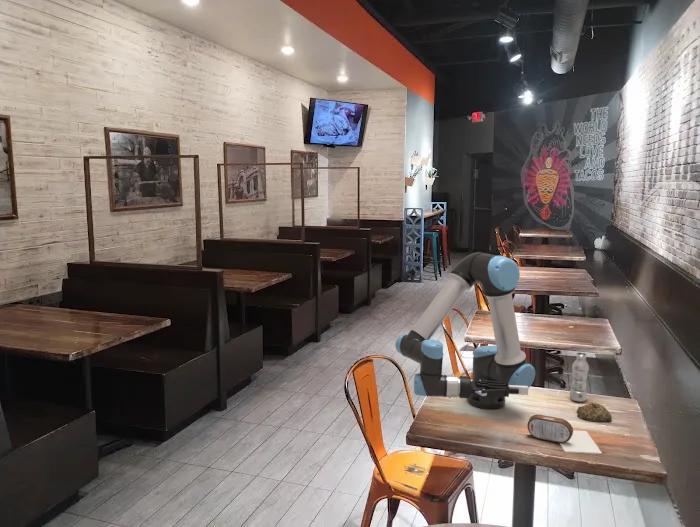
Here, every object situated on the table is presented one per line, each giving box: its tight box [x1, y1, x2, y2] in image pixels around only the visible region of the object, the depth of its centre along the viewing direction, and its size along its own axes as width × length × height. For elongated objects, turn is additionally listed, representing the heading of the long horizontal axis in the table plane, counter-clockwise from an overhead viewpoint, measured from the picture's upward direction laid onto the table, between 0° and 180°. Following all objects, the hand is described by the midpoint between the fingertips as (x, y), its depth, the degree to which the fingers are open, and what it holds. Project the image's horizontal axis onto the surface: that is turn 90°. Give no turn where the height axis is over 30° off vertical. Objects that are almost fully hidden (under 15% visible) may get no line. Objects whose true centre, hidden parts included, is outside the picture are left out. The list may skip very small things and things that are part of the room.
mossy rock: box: [576, 402, 613, 423], centre depth 215 cm, size 13×12×5 cm
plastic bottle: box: [569, 352, 590, 403], centre depth 228 cm, size 6×7×20 cm
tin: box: [526, 414, 574, 444], centre depth 194 cm, size 15×3×8 cm, turn 59°
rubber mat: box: [559, 429, 603, 455], centre depth 194 cm, size 12×16×1 cm
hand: (527, 390), depth 192 cm, fingers closed
